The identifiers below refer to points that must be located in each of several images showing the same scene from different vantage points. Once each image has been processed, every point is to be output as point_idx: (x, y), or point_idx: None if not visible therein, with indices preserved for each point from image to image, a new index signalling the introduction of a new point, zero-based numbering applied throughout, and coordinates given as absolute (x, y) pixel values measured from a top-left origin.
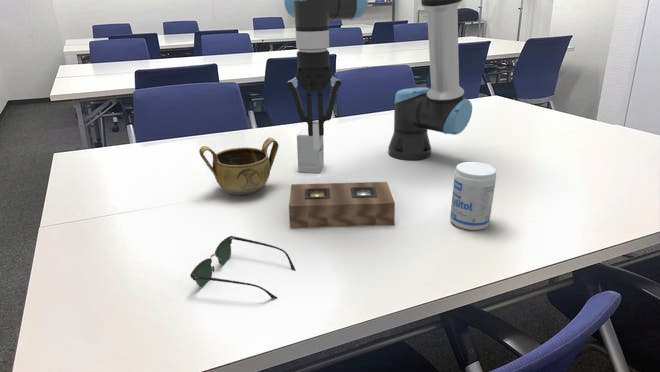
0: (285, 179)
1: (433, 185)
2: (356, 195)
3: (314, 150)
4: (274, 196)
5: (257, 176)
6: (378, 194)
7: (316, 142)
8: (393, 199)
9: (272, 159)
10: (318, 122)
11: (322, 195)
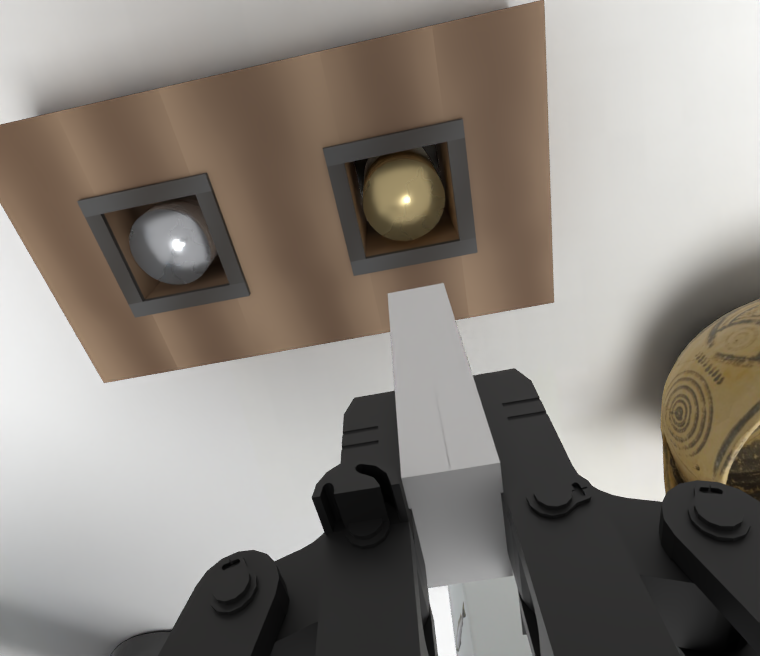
0: (574, 466)
1: (21, 478)
2: (204, 227)
3: (485, 606)
4: (608, 325)
5: (736, 349)
6: (88, 235)
7: (420, 322)
8: None
9: None
10: (419, 537)
11: (372, 185)
